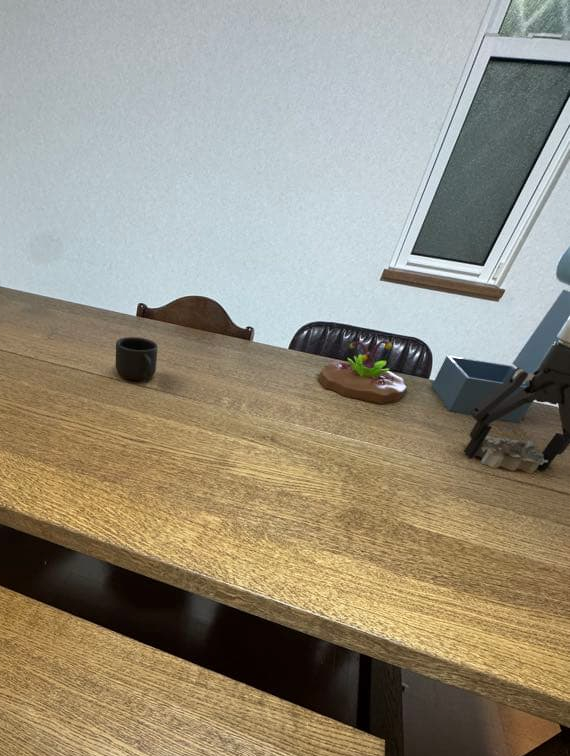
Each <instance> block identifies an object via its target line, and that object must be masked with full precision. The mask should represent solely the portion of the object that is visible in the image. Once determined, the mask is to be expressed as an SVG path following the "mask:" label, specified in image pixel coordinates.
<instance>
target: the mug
mask: <svg viewBox="0 0 570 756" xmlns="http://www.w3.org/2000/svg"><path fill="white" fill-rule="evenodd" d="M158 349H159V347H158V344H157V343H156V342H155V341H153V340H151V339H147V338H144V337H137V336H135V337H134V336H128V337H122V338H119V339H118V340H116V342H115V362H114V363H115V364H114V365H115V370H116V373H117V374H118V375H119V376H120V377H122V378H124V379H126V380H128V381H131V382H132V381H133V382H142V381H143V382H144V381H146V380H149V379H151V378H152V377H153V376H154V375H155V373H156V370H157V360H158Z"/></svg>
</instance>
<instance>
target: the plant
mask: <svg viewBox="0 0 570 756" xmlns="http://www.w3.org/2000/svg"><path fill="white" fill-rule="evenodd" d="M382 344H384V348H385V349H386V350H391V349H392V347H393V344H392V342H391V341H389V340H387V339H382V340H380V341H379V342H378V343H376V344H375V346H373V348H372V350H371V351H369V350H368V347H367V346H366V345H365V344H364V343H363V342H361V341H353V342H351V343H350V344H349V348H350V349H351V350H353V349H355V348H356V345H359V346H360V347H362V351H363V354H361V353H359V354H358V356H356V355H354V356H353V358H354V360H352V358H349V357H347V361H342V360H334V361H330V362H329V364H328V365H327V366H326V367H325V368H324V369H322V370H321V371H320V372H319V377H318V381H319V383H320V385H322V387H323V389H325V390H327V391H333V392H335V393H338V394H339V395H341V396H343V397H345V398H346V397H347V398H352V399H356V400H360V401H366V402H369V403H374V404H378V405H385V404H389V403H396V402H399V401H400V400H401V398H402V397H403V396H404V395H405V393H406V391H407V388H408V386H407V385H405V383H404V378H403V377H400V376H398V375H397V374H395V373H392V372H391V371H390V368H389V367H388V368H387V367H386V368H383V367H385V366H386V365H387V360H379V361H376V362H375V357H376V354H377V350H378V349H379V348H380V347H381V345H382Z"/></svg>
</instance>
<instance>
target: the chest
mask: <svg viewBox="0 0 570 756" xmlns="http://www.w3.org/2000/svg"><path fill="white" fill-rule="evenodd" d="M515 369H516V368H515V366H514V365H508V364H503V363H497V362H489V361H484V360H477V359H472V358H471V359H470V358H465V357H464V358H463V357H458V356H452V355H446V356H445V357H444V360H443V362H442V364H441V366H440V368H439V371H438V372H437V375H436V376H435V379H434V381H433V383H432V385H431V388H432V389H433V390H434V392H435V394H437V396H438V398H439V399H440V400H441V402H442V403H443V404H444V406H445V407H446V409H447V410H448V411H449V412H453V413H458V414H465V415H470V416H472V415H471V414H470V411H471V410H472V409H473V408H475V407H476V406H477V405H478V404H479V403H480V402H482V401H483V400H484V399H485V398H486V397H488V396H489V395H490V394H491V393H492V392H494V391H495V390H496V389H497V388H498V387H500V386H501V385H502V384H503V383H504V382H505V381H507V380H508V379H509V377H510V376H511V374H512V373H513V372H514V370H515ZM528 385H529V381H527V382H526V383H525V384H522V385H521V386H520V387H519V388H518V389H517V390H516V391H514V392H513V393H512V394H511V395H509V396H508V397H507V398H506V399H508V398H510V397H512V396H513V395H515V394H517V393H518V391H519V390H521V389H522V388H524V387H526V386H528ZM528 394H530V393H528ZM506 399H505V400H506ZM505 400H503V401H505ZM503 401H502V402H503ZM533 402H534V401H533ZM533 402H531V403H526V404H524V405H522V406H520V407H519V408H517V409H515V410H513V411H511V412H510V413H508V414H506V415H504V416H502V417H501V418H499V419H498V420H500V421H506V422H513V423H521V421H522V419H523V418H524V416H526V413H527V412H528V411H529V409H530V407H532V404H533Z"/></svg>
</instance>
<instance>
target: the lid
mask: <svg viewBox="0 0 570 756" xmlns="http://www.w3.org/2000/svg"><path fill="white" fill-rule="evenodd" d="M569 317H570V291H569V290H567V289H562V290H561V292H560V294H559V295H558V296H557V298H556V299H555V301H554V302H553V304H552V305H551V307H550V308H549V310H548V311H547V313H546V314H545V316H544V317H543V318H542V320H540V323H539V324H538V325H537V326H536V329H534V331H533V333H532V334H531V336H529V338H528V340H527V341H526V343H525V344H524V345H523V347H522V349H521V350H520V352H519V353H518V355H516V357H515V359H514V360H513V361H512V362H511V363H512V366H514V367H516V368H522V369H523V370H524V371H527V372H531V373H533V372H535V371H536V370H537V369H538V368H539V366H540V363H541V361H542V359H543V358H544V356H545V354H546V353H547V351H548V350H549V348H550V347H551V345H552V343H554V342H556V341H559V339H558V337H557V335H558V334H559V332H560V331H561V329H562V327H563V326H564V324H565V323H566V321H567V320H568V318H569Z"/></svg>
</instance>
